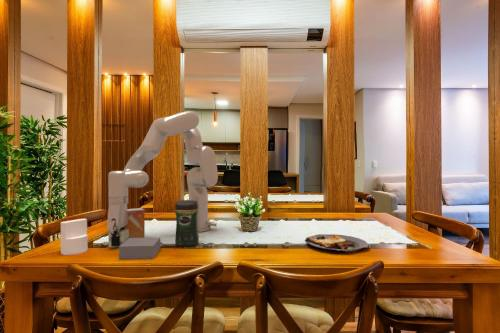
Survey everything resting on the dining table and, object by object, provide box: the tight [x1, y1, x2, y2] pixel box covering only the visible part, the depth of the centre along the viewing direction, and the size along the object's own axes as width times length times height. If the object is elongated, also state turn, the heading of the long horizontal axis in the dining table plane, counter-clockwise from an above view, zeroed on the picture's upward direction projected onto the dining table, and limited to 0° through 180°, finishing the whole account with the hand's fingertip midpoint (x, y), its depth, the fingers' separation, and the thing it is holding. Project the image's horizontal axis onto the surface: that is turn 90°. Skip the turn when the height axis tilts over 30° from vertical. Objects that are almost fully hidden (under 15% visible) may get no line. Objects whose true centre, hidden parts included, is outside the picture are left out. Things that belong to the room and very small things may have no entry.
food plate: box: [304, 233, 369, 253], centre depth 127 cm, size 25×23×4 cm
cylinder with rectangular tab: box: [60, 218, 88, 256], centre depth 119 cm, size 9×9×12 cm
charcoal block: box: [118, 236, 161, 260], centre depth 116 cm, size 12×12×5 cm
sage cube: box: [107, 229, 129, 248], centre depth 127 cm, size 6×6×6 cm
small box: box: [126, 207, 146, 238], centre depth 139 cm, size 8×6×13 cm
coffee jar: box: [174, 199, 200, 247], centre depth 129 cm, size 10×8×19 cm
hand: (118, 243), depth 127 cm, fingers closed on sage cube, 6 cm apart
